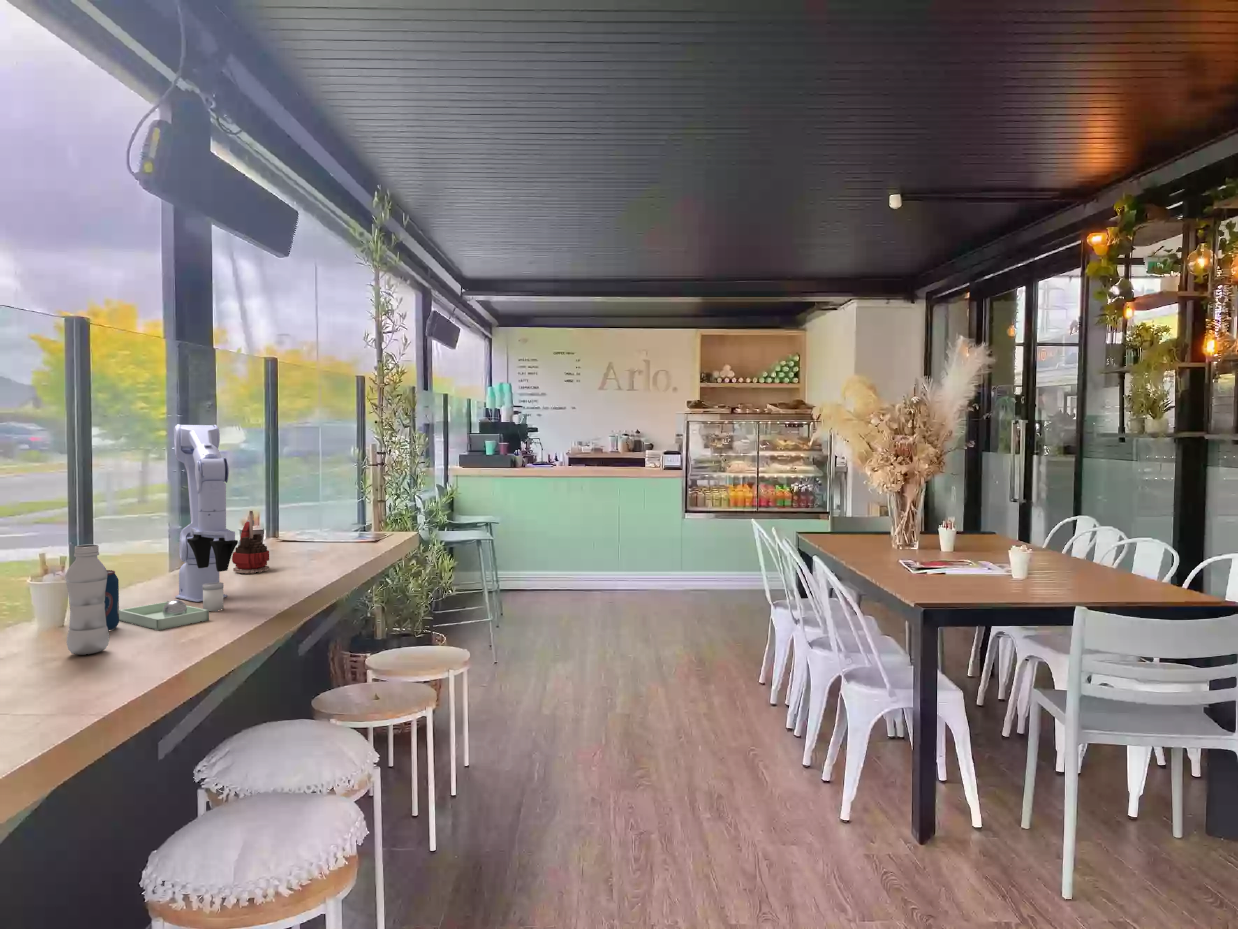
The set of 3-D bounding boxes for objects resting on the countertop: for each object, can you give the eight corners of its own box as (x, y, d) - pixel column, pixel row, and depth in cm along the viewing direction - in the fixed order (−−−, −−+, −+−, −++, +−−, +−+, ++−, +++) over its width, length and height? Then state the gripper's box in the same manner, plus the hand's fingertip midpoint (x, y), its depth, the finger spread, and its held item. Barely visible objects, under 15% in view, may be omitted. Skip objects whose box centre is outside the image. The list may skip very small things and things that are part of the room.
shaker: (198, 610, 185) (198, 584, 185) (216, 607, 189) (216, 581, 189) (209, 612, 183) (209, 586, 183) (227, 609, 187) (227, 583, 186)
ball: (159, 623, 172) (157, 601, 172) (180, 619, 176) (179, 598, 176) (170, 624, 170) (168, 602, 170) (192, 619, 174) (190, 598, 174)
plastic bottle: (118, 650, 151) (116, 544, 150) (83, 660, 144) (81, 549, 144) (92, 647, 153) (91, 542, 152) (57, 656, 147) (56, 547, 146)
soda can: (77, 635, 161) (76, 576, 161) (81, 628, 168) (80, 570, 167) (117, 632, 165) (116, 573, 164) (120, 624, 171) (119, 568, 170)
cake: (258, 575, 230) (258, 512, 230) (226, 575, 230) (226, 512, 230) (275, 569, 241) (275, 509, 240) (244, 568, 241) (243, 508, 240)
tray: (117, 620, 175) (117, 610, 175) (168, 610, 184) (168, 601, 184) (158, 630, 166) (157, 619, 166) (209, 620, 176) (208, 610, 176)
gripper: (177, 509, 186) (177, 568, 186) (213, 513, 178) (214, 575, 178) (206, 507, 191) (207, 564, 192) (243, 511, 184) (243, 570, 184)
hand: (212, 569), depth 186 cm, fingers open, 7 cm apart
